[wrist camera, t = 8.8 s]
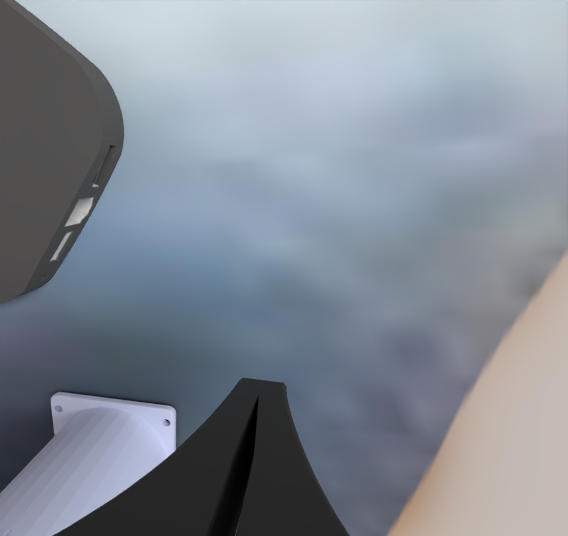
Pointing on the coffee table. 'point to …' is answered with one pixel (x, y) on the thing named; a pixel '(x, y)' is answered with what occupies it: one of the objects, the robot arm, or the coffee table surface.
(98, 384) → the coffee table surface
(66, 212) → the media streaming box
